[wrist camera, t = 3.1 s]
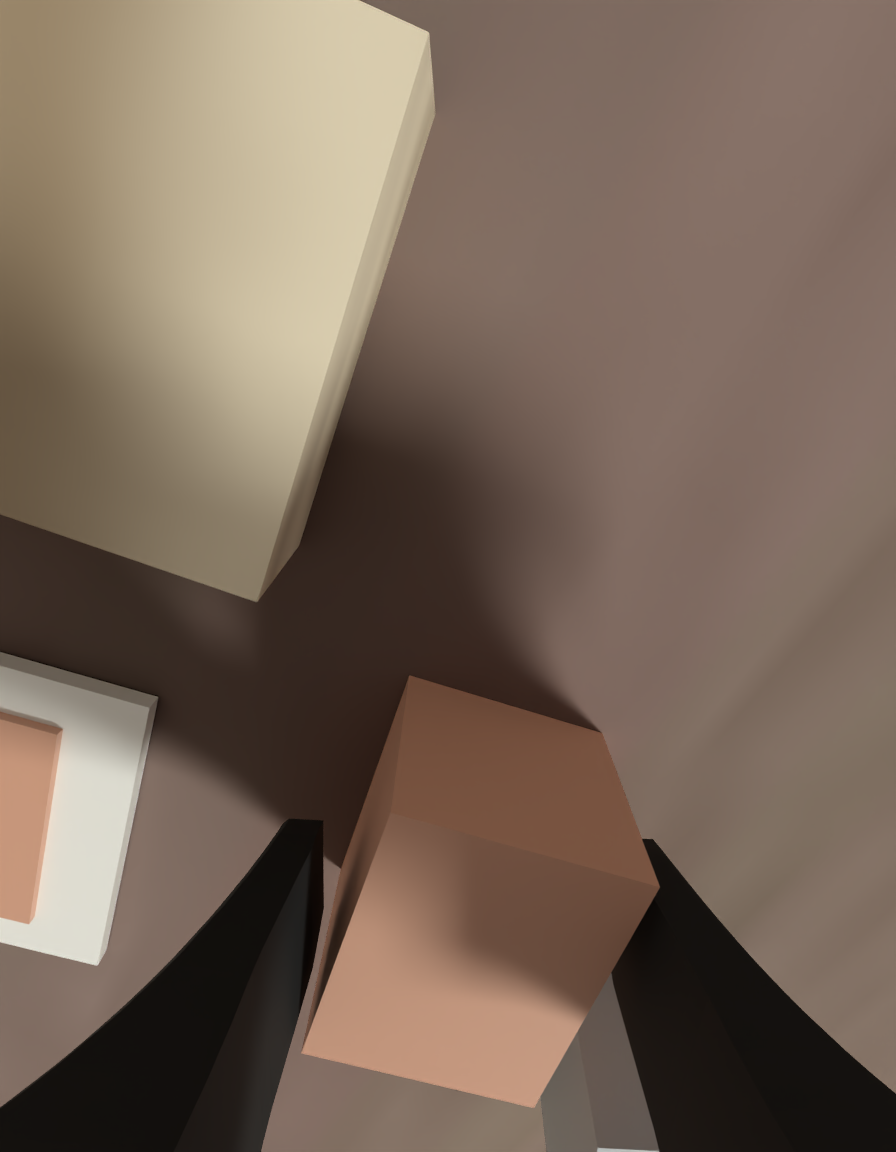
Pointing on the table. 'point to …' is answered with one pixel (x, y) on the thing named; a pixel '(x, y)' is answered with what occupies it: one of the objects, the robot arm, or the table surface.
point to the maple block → (193, 263)
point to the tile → (66, 804)
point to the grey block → (598, 1089)
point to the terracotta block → (478, 898)
